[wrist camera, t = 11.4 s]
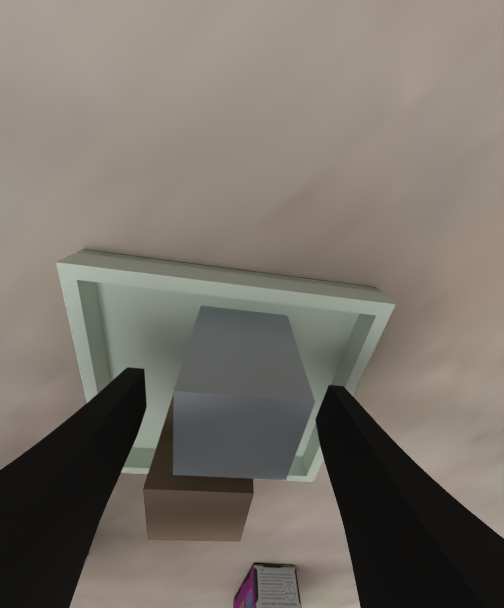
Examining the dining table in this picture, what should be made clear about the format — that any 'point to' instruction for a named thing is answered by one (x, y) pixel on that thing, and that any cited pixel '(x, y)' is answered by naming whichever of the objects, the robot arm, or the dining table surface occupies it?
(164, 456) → the walnut block
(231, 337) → the grey block
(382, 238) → the dining table surface
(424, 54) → the dining table surface
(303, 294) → the tray
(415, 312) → the dining table surface
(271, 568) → the candy bar box
